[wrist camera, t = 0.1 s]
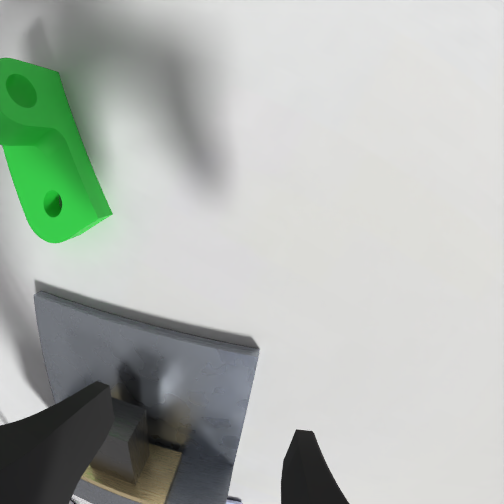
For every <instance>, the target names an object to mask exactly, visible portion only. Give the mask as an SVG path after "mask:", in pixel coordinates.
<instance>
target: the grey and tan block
mask: <svg viewBox="0 0 504 504" xmlns="http://www.w3.org/2000/svg"><path fill="white" fill-rule="evenodd" d="M111 399H112V406H113V412H114V418H115V420H114V423H113V425H112V427H111V429H110V431H109V434H108V436H107V438H106V440H105V441H104V443H103V444H102V446H101V448H100V449H99V451H98V452H97V454H96V455H95V457H94V458H93V460H92V461H91V463H90V464H89V466H88V468H87V469H86V471H85V472H84V474H83V475H82V477H81V479H83V480H85V481H87V482H89V483H92V484H94V485H96V486H98V487H101V488H103V489H105V490H108V491H110V492H113V493H115V494H118V495H120V496H123V497H125V498H128V499H131V500H134V501H136V502H139V503H142V504H165V503H166V500H167V497H168V495H169V492H170V489H171V486H172V484H173V481H174V478H175V475H176V473H177V470H178V467H179V464H180V461H181V459H182V453H181V452H177V451H173V450H170V449H166V448H163V447H160V446H156V445H153V444H150V443H149V440H148V428H147V414H146V408H143V407H140V406H137V405H134V404H131V403H128V402H125V401H122V400H119V399H116V398H114V397H111Z"/></svg>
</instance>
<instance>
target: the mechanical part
mask: <svg viewBox="0 0 504 504" xmlns="http://www.w3.org/2000/svg"><path fill="white" fill-rule="evenodd" d="M0 145H2V146H3V149H4V153H5V157H6V160H7V163H8V167H9V170H10V173H11V176H12V180H13V183H14V186H15V189H16V191H17V194H18V197H19V200H20V203H21V205H22V208H23V211H24V213H25V216H26V219H27V221H28V223H29V225H30V227H31V228H32V230H33V231H34V232H35V233H36V234H37V235H38V236H39V237H40V238H41V239H43V240H45V241H47V242H50V243H60V242H63V241H66V240H68V239H71V238H73V237H76V236H78V235H80V234H82V233H84V232H85V231H87V230H88V229H90V228H91V227H93V226H95V225H96V224H98V223H99V222H101V221H102V220H104V219H106V218H107V217H109V216H110V215H112V211H111V209H110V207H109V205H108V203H107V200H106V198H105V196H104V194H103V191H102V189H101V187H100V185H99V182H98V180H97V178H96V175H95V173H94V170H93V168H92V166H91V163H90V161H89V158H88V156H87V153H86V151H85V148H84V145H83V143H82V140H81V138H80V135H79V132H78V130H77V127H76V124H75V121H74V119H73V116H72V113H71V110H70V107H69V104H68V101H67V98H66V95H65V92H64V89H63V86H62V83H61V80H60V76H59V73H58V72H56V71H53V70H50V69H47V68H43V67H40V66H37V65H33V64H30V63H26V62H23V61H19V60H16V59H11V58H1V59H0ZM59 196H60V197H61V200H62V209H61V207H60V204H59Z"/></svg>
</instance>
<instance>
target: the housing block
mask: <svg viewBox="0 0 504 504" xmlns="http://www.w3.org/2000/svg"><path fill="white" fill-rule="evenodd" d="M34 303H35V311H36V318H37V324H38V330H39V336H40V341H41V346H42V351H43V356H44V361H45V365H46V370H47V374H48V378H49V382H50V386H51V389H52V393H53V397H54V400H55V403H56V404H57V403H59V402H61V401H62V400H64V399H66V398H68V397H70V396H71V395H73V394H75V393H76V392H78V391H80V390H82V389H83V388H85V387H87V386H88V385H90V384H92V383H94V382H95V381H99V382H101V383H104V384H107V385H110V392H111V397H114V398H116V399H119V400H122V401H125V402H128V403H131V404H134V405H137V406H140V407H143V408H146V414H147V428H148V440H149V443H150V444H153V445H156V446H160V447H163V448H166V449H170V450H173V451H177V452H181V453H182V459H181V461H180V464H179V467H178V470H177V473H176V475H175V478H174V481H173V484H172V486H171V489H170V492H169V495H168V497H167V500H166V503H165V504H226V501H227V496H228V491H229V486H230V481H231V476H232V471H233V466H234V461H235V457H236V453H237V449H238V445H239V441H240V436H241V432H242V428H243V423H244V419H245V415H246V410H247V406H248V402H249V397H250V393H251V388H252V384H253V379H254V375H255V370H256V365H257V361H258V356H259V349H257V348H251V347H246V346H241V345H236V344H231V343H226V342H221V341H216V340H212V339H207V338H203V337H198V336H194V335H190V334H185V333H181V332H177V331H173V330H169V329H165V328H161V327H157V326H153V325H149V324H146V323H142V322H138V321H135V320H131V319H127V318H124V317H120V316H117V315H113V314H110V313H107V312H103V311H100V310H97V309H94V308H90V307H87V306H84V305H81V304H78V303H75V302H72V301H69V300H66V299H63V298H60V297H57V296H54V295H51V294H48V293H46V292H43V291H40V292H38V293H36V294H35V295H34ZM73 494H74V495H76V496H78V497H80V498H82V499H84V500H86V501H88V502H90V503H93V504H142V503H139V502H136V501H134V500H131V499H128V498H125V497H123V496H120V495H118V494H115V493H113V492H110V491H108V490H105V489H103V488H101V487H98V486H96V485H94V484H92V483H89V482H87V481H85V480H83V479H80V480H79V482H78V484H77V486H76V488H75V491H74V493H73Z"/></svg>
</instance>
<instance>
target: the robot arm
mask: <svg viewBox="0 0 504 504" xmlns="http://www.w3.org/2000/svg"><path fill="white" fill-rule="evenodd" d="M114 420H115V418H114V412H113V406H112V399H111V392H110V385H107V384H104V383H101V382H99V381H95V382H94V383H92V384H90V385H88V386H87V387H85V388H83V389H82V390H80V391H78V392H76V393H75V394H73V395H71V396H70V397H68V398H66V399H64V400H62V401H61V402H59V403H57V404H55V405H53V406H51V407H49V408H47V409H45V410H43V411H41V412H39V413H37V414H35V415H32V416H30V417H27V418H24V419H22V420H19V421H16V422H12V423H9V424H5V425H1V426H0V504H69V502H70V499H71V497H72V495H73V493H74V491H75V488H76V486H77V484H78V482H79V480H80V479H81V477H82V475H83V474H84V472H85V471H86V469H87V468H88V466H89V464H90V463H91V461H92V460H93V458H94V457H95V455H96V454H97V452H98V451H99V449H100V448H101V446H102V444H103V443H104V441H105V440H106V438H107V436H108V434H109V431H110V429H111V427H112V425H113V423H114ZM226 504H243V503H242V502H239V501H233V500H227V501H226ZM281 504H349V502H348V501H347V499H346V498H345V496H344V495H343V493H342V492H341V490H340V488H339V487H338V485H337V483H336V481H335V479H334V478H333V476H332V474H331V472H330V470H329V468H328V466H327V464H326V462H325V459H324V457H323V455H322V452H321V450H320V448H319V445H318V443H317V440H316V437H315V434H314V433H313V431H305V430H296V431H295V434H294V436H293V439H292V441H291V444H290V446H289V449H288V451H287V453H286V456H285V458H284V461H283V470H282V479H281Z"/></svg>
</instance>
